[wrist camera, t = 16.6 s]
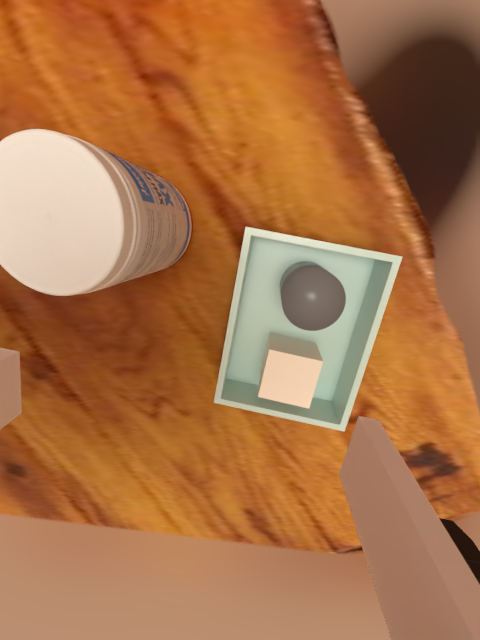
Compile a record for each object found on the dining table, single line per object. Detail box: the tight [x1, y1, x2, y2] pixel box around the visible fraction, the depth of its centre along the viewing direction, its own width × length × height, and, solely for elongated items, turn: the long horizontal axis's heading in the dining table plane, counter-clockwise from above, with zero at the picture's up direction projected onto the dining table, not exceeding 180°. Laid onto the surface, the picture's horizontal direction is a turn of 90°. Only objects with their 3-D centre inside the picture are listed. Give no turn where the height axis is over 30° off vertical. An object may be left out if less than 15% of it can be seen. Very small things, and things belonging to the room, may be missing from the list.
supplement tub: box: [0, 129, 192, 296], centre depth 25 cm, size 10×10×15 cm
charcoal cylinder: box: [280, 261, 346, 331], centre depth 28 cm, size 5×5×7 cm
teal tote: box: [214, 227, 402, 431], centre depth 31 cm, size 13×17×5 cm
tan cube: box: [258, 333, 323, 409], centre depth 31 cm, size 5×5×5 cm
